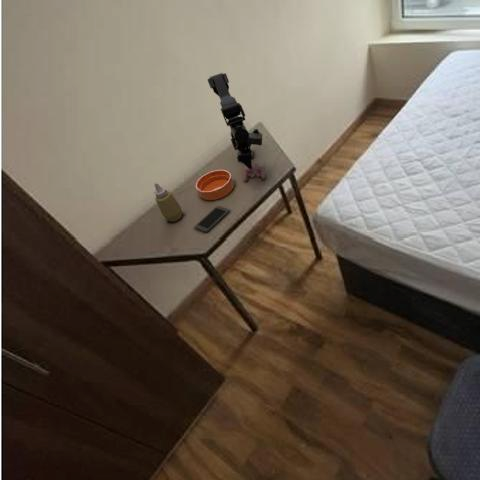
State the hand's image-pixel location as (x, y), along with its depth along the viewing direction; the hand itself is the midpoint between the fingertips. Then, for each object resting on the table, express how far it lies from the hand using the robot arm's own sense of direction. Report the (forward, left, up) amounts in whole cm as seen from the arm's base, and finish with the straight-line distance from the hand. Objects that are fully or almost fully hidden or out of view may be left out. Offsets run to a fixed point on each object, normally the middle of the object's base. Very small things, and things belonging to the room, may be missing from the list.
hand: (250, 163), depth 175 cm
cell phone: (+23, -19, -8) cm, 31 cm away
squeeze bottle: (+15, -36, -8) cm, 40 cm away
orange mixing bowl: (+2, -18, -8) cm, 20 cm away
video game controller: (0, 0, -8) cm, 8 cm away
